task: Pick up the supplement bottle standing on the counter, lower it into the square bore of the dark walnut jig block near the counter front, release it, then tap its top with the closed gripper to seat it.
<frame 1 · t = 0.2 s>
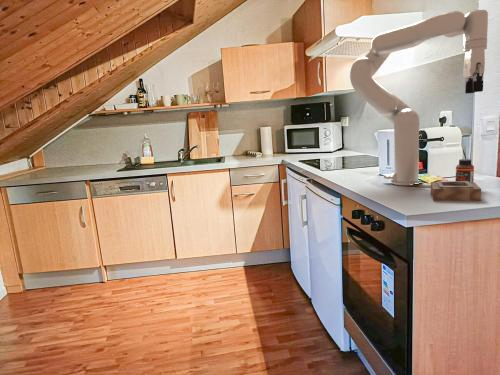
hand: (473, 92, 139), 36 cm above the table, tool pointing down, fingers open, 9 cm apart
jig: (454, 196, 126), on the table
supplement bottle: (464, 189, 136), on the table
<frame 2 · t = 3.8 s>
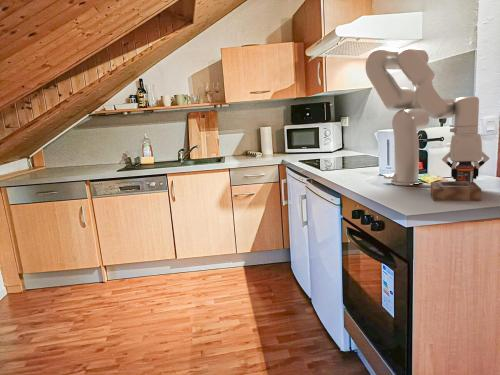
hand: (464, 178, 136), 4 cm above the table, tool pointing down, fingers closed on supplement bottle, 6 cm apart
supplement bottle: (464, 189, 136), on the table, touching gripper
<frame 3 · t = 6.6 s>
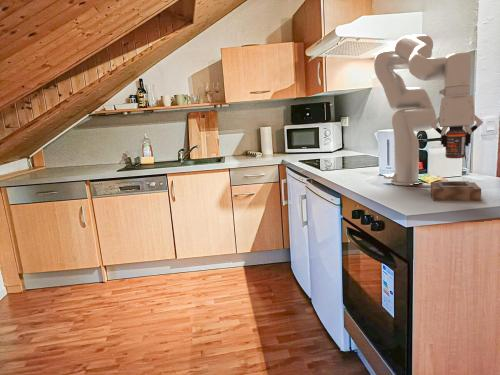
hand: (455, 145, 122), 18 cm above the table, tool pointing down, fingers closed on supplement bottle, 6 cm apart
supplement bottle: (455, 158, 123), point 14 cm above the table, touching gripper
when the fingers open (6 cm above the table, at t = 9.5 s): supplement bottle drops 2 cm, resting in jig.
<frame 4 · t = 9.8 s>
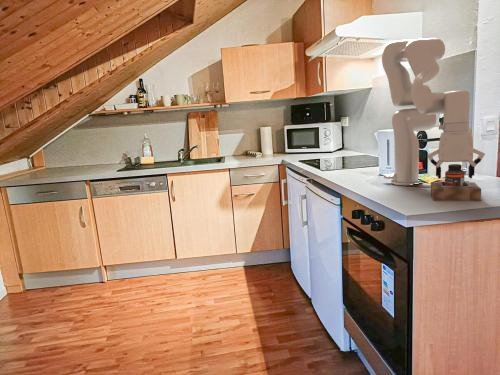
hand: (454, 177, 124), 7 cm above the table, tool pointing down, fingers open, 9 cm apart
supplement bottle: (454, 197, 126), resting in jig
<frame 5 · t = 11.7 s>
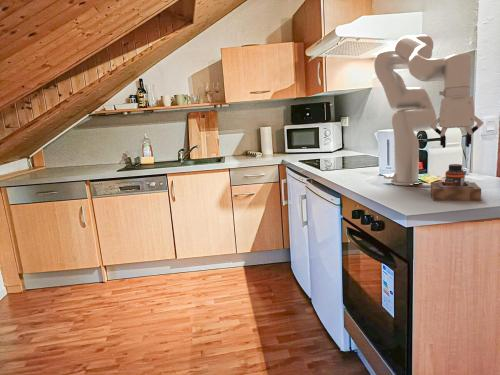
hand: (455, 146, 122), 18 cm above the table, tool pointing down, fingers open, 6 cm apart
nothing on the table moved.
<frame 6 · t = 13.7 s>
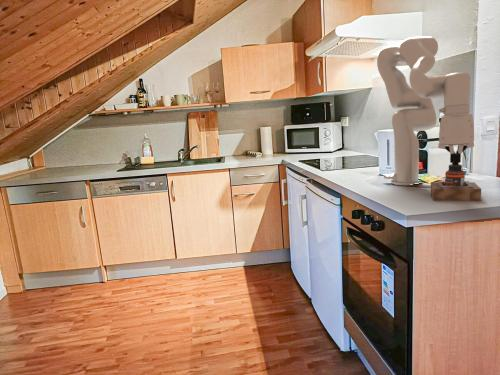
hand: (455, 164, 123), 11 cm above the table, tool pointing down, fingers closed
supplement bottle: (454, 197, 126), resting in jig, touching gripper
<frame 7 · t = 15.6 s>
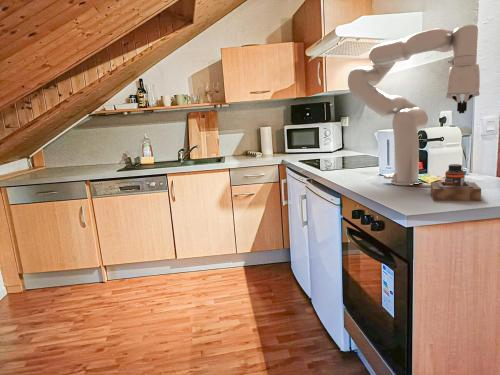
hand: (461, 113, 134), 28 cm above the table, tool pointing down, fingers closed
supplement bottle: (454, 197, 126), resting in jig
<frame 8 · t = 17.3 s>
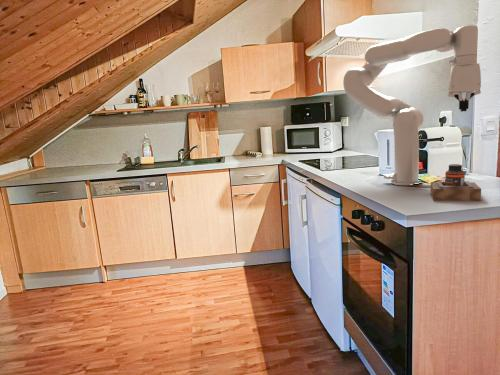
hand: (463, 111, 137), 29 cm above the table, tool pointing down, fingers closed
nothing on the table moved.
at the end: supplement bottle 0.2 cm off-centre on the jig, point 0.0 cm above the jig's base; supplement bottle tilted 0°; the gripper is holding nothing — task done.
